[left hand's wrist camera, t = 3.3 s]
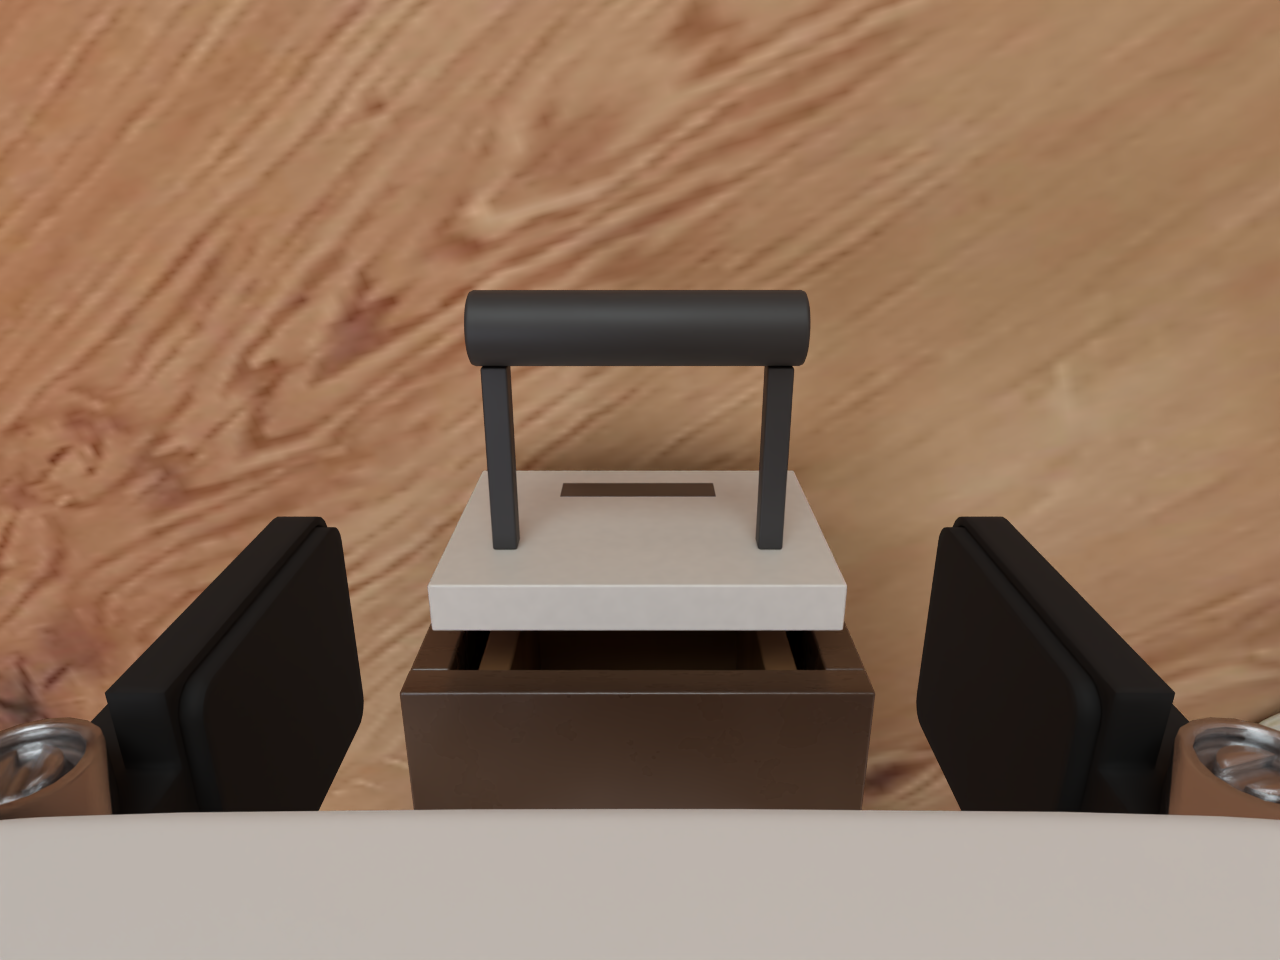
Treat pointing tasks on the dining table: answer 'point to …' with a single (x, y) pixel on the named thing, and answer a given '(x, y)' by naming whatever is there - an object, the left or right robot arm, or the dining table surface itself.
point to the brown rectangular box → (637, 732)
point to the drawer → (637, 501)
